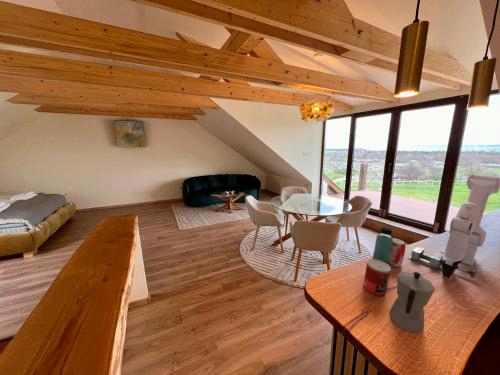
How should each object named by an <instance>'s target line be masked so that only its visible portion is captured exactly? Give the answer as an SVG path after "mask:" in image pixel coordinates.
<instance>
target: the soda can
mask: <svg viewBox="0 0 500 375" xmlns="http://www.w3.org/2000/svg"><path fill="white" fill-rule="evenodd" d="M392 239H393V242H392V250H391V252H390V257H389V258H390V259H389V262H388V263H389V264H388V265H389V266H390V267H393V268H398V267H401V266H402V264H403V261H404V259H405V258H404V257H405V252H406V244H405V243H406V242H405V241H404V240H402V239H399V238H396V237H392Z"/></svg>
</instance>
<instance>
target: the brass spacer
mask: <svg viewBox="0 0 500 375" xmlns="http://www.w3.org/2000/svg"><path fill="white" fill-rule="evenodd" d="M455 273H456V270H454V272H453V273H452V275H451V277H450V278H446V277H444V276H443V274H442V273H441V278H444V279H446V280H448V281H452V279H453V278H454V276H455Z"/></svg>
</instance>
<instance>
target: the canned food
mask: <svg viewBox="0 0 500 375" xmlns="http://www.w3.org/2000/svg"><path fill="white" fill-rule="evenodd" d="M391 271H392V266H390V265H388V264H386V263H385V262H383V261H380V260H376V259H368V260H367V262H366V268H365V273H364V277H363V278H364V279H363V287H364V290H366V292H368V293H369V294H371V295H373V296H376V297H384V296H385V294H386V293H387V291H388V284H389V281H390V276H391Z"/></svg>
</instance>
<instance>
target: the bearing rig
mask: <svg viewBox="0 0 500 375" xmlns="http://www.w3.org/2000/svg"><path fill="white" fill-rule="evenodd" d="M443 258H444V254H442V253H441V254H440V253H439V252H434V254H433V255H431V256H430V255H428V254H425V248H424V247H421V246H418V245H417V246H416V247H415V248H414V249H412V250H411V254H410V256H409V257H408V259H409V260H412V261H414V262H416V263H419V264H421V265H424V266H427V267H429V268H432V269H434V270H435V271H441V269H442V265H441V263H439V262H440V260H441V259H443ZM443 260H444V259H443Z"/></svg>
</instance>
